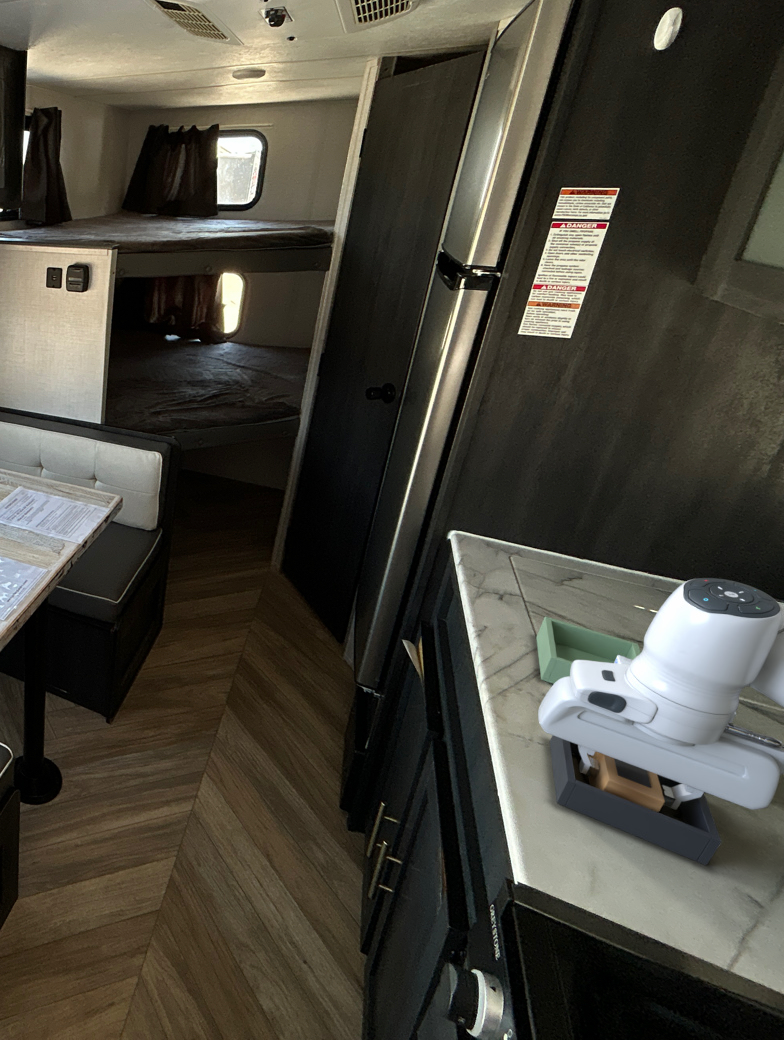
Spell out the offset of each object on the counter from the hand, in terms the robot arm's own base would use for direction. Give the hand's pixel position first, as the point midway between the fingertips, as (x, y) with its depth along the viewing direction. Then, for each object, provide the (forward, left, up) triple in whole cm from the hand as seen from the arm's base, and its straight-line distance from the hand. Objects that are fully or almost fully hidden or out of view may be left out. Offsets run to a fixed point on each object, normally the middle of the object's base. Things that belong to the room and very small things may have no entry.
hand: (625, 787), depth 80 cm
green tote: (+1, -27, -2) cm, 27 cm away
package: (0, 0, -2) cm, 2 cm away
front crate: (0, 0, -2) cm, 2 cm away
